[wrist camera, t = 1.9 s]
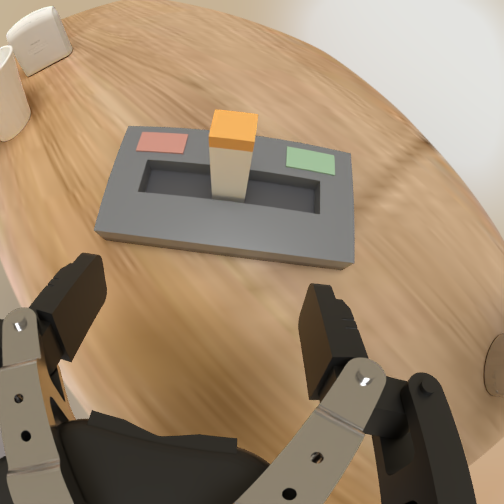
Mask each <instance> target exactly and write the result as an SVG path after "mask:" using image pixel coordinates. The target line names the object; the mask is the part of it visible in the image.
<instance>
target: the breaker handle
mask: <svg viewBox="0 0 504 504" xmlns="http://www.w3.org/2000/svg"><path fill="white" fill-rule="evenodd" d="M257 120H258V114H251V113H244V112H235V111H226V110H216V109H215V112H214V116H213V120H212V124H211V128H210V132H209V155H210V172H211V188H212V199H213V200H222V201H230V202H238V203H244V201H245V195H246V189H247V183H248V177H249V171H250V166H251V160H252V154H253V149H254V143H255V136H256V128H257Z"/></svg>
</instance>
